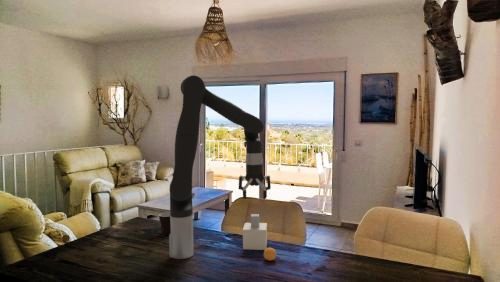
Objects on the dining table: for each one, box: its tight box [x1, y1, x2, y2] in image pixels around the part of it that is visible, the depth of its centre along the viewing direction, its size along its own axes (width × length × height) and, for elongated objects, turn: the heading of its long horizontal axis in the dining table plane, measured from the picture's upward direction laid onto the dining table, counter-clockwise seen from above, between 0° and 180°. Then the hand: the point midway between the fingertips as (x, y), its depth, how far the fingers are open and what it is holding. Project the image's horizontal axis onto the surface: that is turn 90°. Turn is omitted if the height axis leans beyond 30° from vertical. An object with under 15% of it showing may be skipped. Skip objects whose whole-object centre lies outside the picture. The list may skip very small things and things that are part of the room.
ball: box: [263, 247, 277, 261], centre depth 136 cm, size 5×5×5 cm
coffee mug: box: [158, 211, 171, 236], centre depth 171 cm, size 12×9×10 cm
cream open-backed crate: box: [242, 213, 268, 251], centre depth 152 cm, size 10×10×14 cm
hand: (254, 198), depth 151 cm, fingers open, 8 cm apart
